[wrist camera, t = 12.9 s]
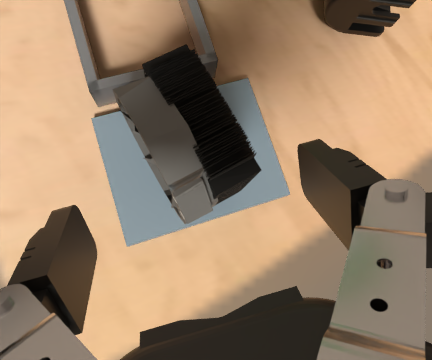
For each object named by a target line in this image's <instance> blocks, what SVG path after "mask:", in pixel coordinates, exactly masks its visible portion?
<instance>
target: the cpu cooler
mask: <svg viewBox="0 0 432 360" xmlns="http://www.w3.org/2000/svg"><path fill="white" fill-rule="evenodd" d="M195 52H196V51H195V49H193V50H191V51H190V50H189V48H188V46H187V44H186V45H184V46H182V47H179V48H177V49H175V50H173V51H171V52H168V53H166V54H164V55H162V56H160V57H158V58H155V59H153V60H151V61H149V62H147V63H144V64H142V65H143V69H144V74H145V75H144V76H145V78H143V79H140V80H137V81H135V82H132V83H129V84H126V85H123V86H121V87H118V88H115V89H112V90H113V93H114V95H115V98H116V101H117V103H118V105H119V107H120V109H121V112H122V114H123V116H124V118H125V120H126V122H127V124H128V126H129V128H130V130H131V132H132V134H133V136H134V138H135V139H136V141H137V143H138V145H139V147H140V149H141V151H142V153H143V155H144V157H145V158H144V159H145V160H146V161H147V162H148V164H149V166H150V168H151V170H152V171H153V173H154V175H155V177H156V178H157V180H158V182H159V184H160V186H161V187H162V189H163V191H164V193H165V194H166V196H167V198H168V199H169V201H170V203H171V208H174V210H175V211H176V213H177V215H178V216H179V217H180V219H181V220H182V221H183V223H184V224H186V223H187V224H189V223H191V222H193V221H195V220H197V219H199V218H200V217H202V216H204V215H206V214H208V213H210V212H212V211H213V208H212V207H214V206H215V205H217V204H219V203H220V202H222V201H224V200H226V199H228V198H229V197H231V196H233V195H235V194H236V193H238V192H240V191H241V190H242V189H243V188H244V187H245V186H246V185H247V184H248V183H249V182H250V181H251V180H252V179H253V178H254V177H255V176H256V175H257V174H258V173H259V172H260V171H261V168H260V166H259V165H258V163H257V162H256V160H255V158H254V157H255V155H256V153H255V154H254V152H255V150H254V151H253V149H254V148H253V149H252V147H253V146H252V147H250V145H251V144H250V142H251V141H249V140H247V138H248V136H247V135H245V132H244V130H242V129H243V128H241V126H239V125H240V123H239V124H238V122H237V119H236V117H234V116H235V115H234V114H233V115H232V113H233V112H232V110H231V108H229V106H228V103H227V102H226V101H225V99H224V97H223V96H221V94H222V93H219V92H220V91H219V88H218V89H217V87H216V84H215V82H213V81H214V80H212V77H211V75H210V73H209V72H208V71H207V69H206V67H205V65H203V64H202V61H201V58H200V57H199V58H198V54H197V53H196V54H195ZM206 71H207V72H206ZM224 101H225V102H224ZM226 103H227V104H226ZM119 111H120V110H119ZM231 112H232V113H231ZM236 122H237V123H236ZM243 132H244V133H243ZM246 136H247V137H246ZM246 140H247V141H246ZM248 141H249V142H248ZM249 147H250V148H249ZM252 151H253V152H252Z"/></svg>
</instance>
